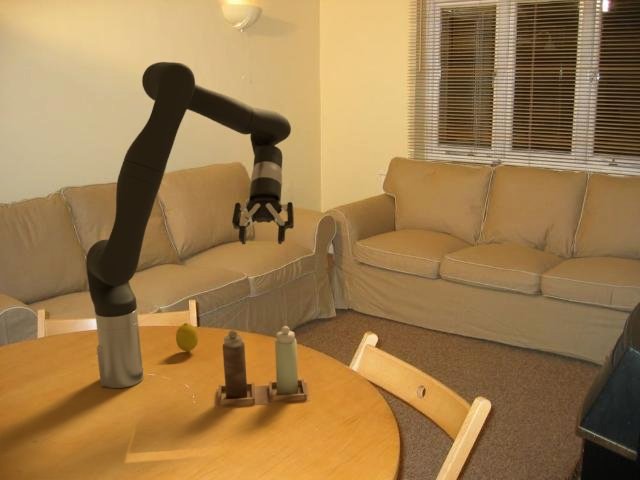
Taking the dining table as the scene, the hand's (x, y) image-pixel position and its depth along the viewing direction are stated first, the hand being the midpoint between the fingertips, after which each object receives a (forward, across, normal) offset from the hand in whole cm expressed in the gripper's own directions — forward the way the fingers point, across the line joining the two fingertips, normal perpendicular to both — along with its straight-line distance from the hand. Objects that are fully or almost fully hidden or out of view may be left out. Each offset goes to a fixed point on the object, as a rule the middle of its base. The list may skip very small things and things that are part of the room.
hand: (261, 242), depth 168 cm
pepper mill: (+34, -4, +7) cm, 35 cm away
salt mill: (+33, +7, +9) cm, 35 cm away
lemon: (+16, -21, +27) cm, 38 cm away
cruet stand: (+34, +2, +9) cm, 36 cm away
